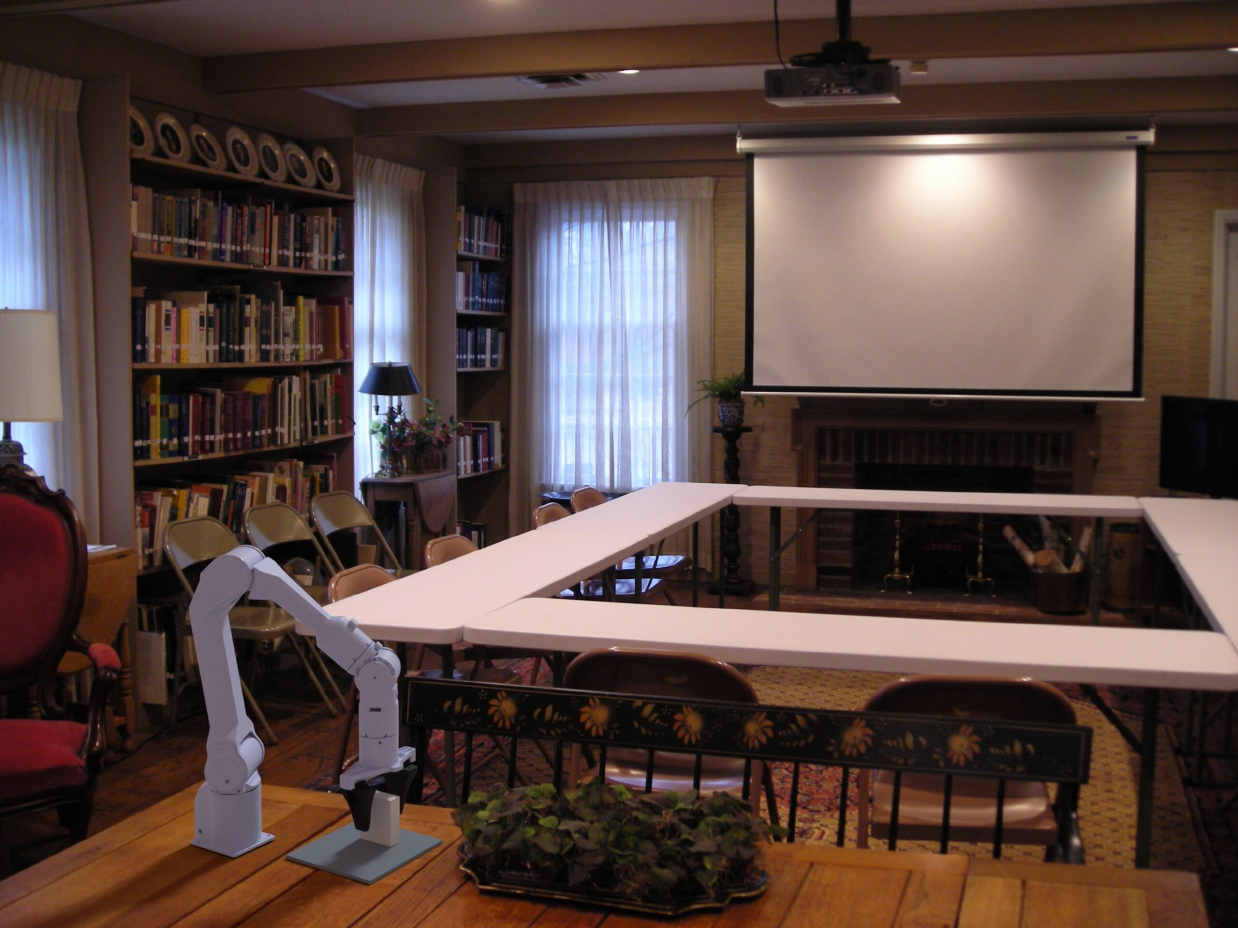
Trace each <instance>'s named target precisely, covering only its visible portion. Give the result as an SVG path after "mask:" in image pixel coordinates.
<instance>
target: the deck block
mask: <svg viewBox="0 0 1238 928" xmlns="http://www.w3.org/2000/svg"><path fill="white" fill-rule="evenodd" d="M400 816H401V814H400V796H396V795H392V794H388V793H387V792H383V791H379V790H376V793H375V795H374V798H373V802H372V807H371V821H370V828H369V831H367V832H363V831H360V838H361V839H364V840H368V841H371V842H375V843H379V844H382V845H386V846H389V847H392V846H393V845H395V844H397V843H399V842H400V828H401V827H400V826H401V824H400V823H401V822H400V821H401V820H400V819H401V818H400Z"/></svg>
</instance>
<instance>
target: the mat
mask: <svg viewBox="0 0 1238 928" xmlns="http://www.w3.org/2000/svg"><path fill="white" fill-rule="evenodd" d="M442 844H444V839H442V838H438V837H433V836H430V835H426V834H423V833H418V832H415V831H411V830H409V829H404V828H401V827H400V842H399V843H397V844H395V845H393V846H392V847H389V846H386V845H382V844H379V843H375V842H371V841H368V840H364V839H361V838H360V830H356V828H355V825H354V821H352V822H350V823H347V824H345V825H344V826H341V827H340V828H338V829H336V830H334V831H331V832H329V833H328V834H325V835H323V836H321V837H320V838H318V839H315V840H313V841H311V842H309V843H306V844H305V845H303V846H301V847H299V848H297V849H295V850H293V851H291V852H289V853H287V854H285V859H287V860H289V861H293V862H295V863H298V864H299V863H300V864H302V865H306V866H309V867H311V868H316V869H319V870H322V871H324V872H328V873H332V874H336V875H339V876H342V877H345V878H349V879H351V880H355V881H358V882H361V883H365V884H368V885H372V884H374V883H375V882H377V881H379V880H381V879H382V878H384V877H386V876H388V875H389V874H391V873H393V872H395V871H396V870H398V869H400V868H402V867H403V866H405V865H408V863H410V862H412V861H414V860H416V859H417V858H419V857H422V856H424V855H425V854H427V853H428V852H430V851H432V850H434V849H435V848H437V847H439V846H440V845H442Z"/></svg>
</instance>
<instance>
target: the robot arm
mask: <svg viewBox="0 0 1238 928" xmlns="http://www.w3.org/2000/svg"><path fill="white" fill-rule="evenodd" d="M199 575H200V576H199V582H198V585H197V587H196V589H195V591H194V593H193V596H192V598H191V600H190V601H191V602H190V604H189V607H188V614H189V620H190V625H191V626H190V627H191V631H192V636H193V641H194V646H195V653H196V658H197V664H198V669H199V675H200V679H201V684H202V690H203V696H204V700H205V701H204V702H205V706H206V713H207V717H208V723H209V732H208V736H207V742H206V752H207V758H206V763H205V765H204V769H203V771H204V772H203V773H204V777H205V780H206V781H204V783H202V784H201V785H200V787H199V788H198V790H197V791H196V794H195V797H194V804H193V806H194V809H193V810H194V838H193V839H191V840H190V842H189V843H190V844H191V846H192V845H193V846H196V847H199V848H203V849H206V850H208V851H211V852H215V853H218V854H220V855H221V854H222V855H225V856H228V857H231V858H237V857H239V856H241V855H243V854H244V855H245V853H248V852H250V851H252V850H254V849H257V848H258V847H260V846H262V845H265V844H266V843H269V842H271V841H273V840H275V837H276V836H275V835H273V834H271V833H267V832H263V831H262V824H263V823H262V778H261V776H260V775H259V774H260V773H258V772H259V771H258V768H259V766H260V765H261V764H262V763H263V761H264V758H265V746H264V743H263V742H262V740H261V739H260V738H259V736H258V735H257V733H256V731H255V727H254V723H253V722H252V719H250V718H249V716H248V715H247V713H246V712H247V711H246V707H245V701H244V696H243V690H242V685H241V679H240V674H239V673H240V672H239V669H238V662H237V657H236V652H235V646H234V642H233V641H234V640H233V636H232V629H231V625H230V619H229V612H230V611H231V610H232V609H233V607H234V606H235V605H236V604H237V603H238V601H239V600H240V599H241V597H242V596H243V595H244V594H245V593H246V592H249V595H248V597H247V599H248V600H258V601H259V600H263V601H273V602H274V603H275V604H276V605H278V606H279V607H280V608H282V609H283V610H284V611H285V612H287V613H288V614H289V615H291V616H293V618H295V619H296V620H297V621H298V622H300V623H301V624H302V625H304V626H305V627H306V628H308V629H309V630H310V631H311V632H313V633H314V634H315V640H316V646H317V648H319V649H320V650H321V651H322V652H323V653H325V654H326V656H328V657H329V658H330V659H332V661H334V662H335V663H336V664H337V665H338V666H340V668H342V669H343V670H345V671H346V672H347V673H348V674H350V675H352V676H354V677H353V678H354V684H355V687H356V688H357V689H358V691H359V702H358V749H359V750H358V752H359V755H358V760H357V762H355V763H354V764H353V765H352V766H351V767H349V769H347V770H346V771H345V772H342V773H341V774H339V783H338V790H339V792H340V793H341V796H343V798H344V800H345V801H346V803H347V806H348V808H349V811H350V814H351V817H352V820H353V821H352V822H354V825H355V828H356V830H360V831H363V832H367V831H369V828H370V821H371V807H372V802H373V798H374V795H375V793H376V791H378V789H377V788H376V787H372V786H369V784H368V783H367V781H368V780H371V779H372V778H374V777H378V776H380V775H382V774H383V778H384V783H385V787H386V793H388V794H392V795H396V796H400V815H402V814H403V811H404V807H405V803H406V800H407V795H408V792H409V789H410V787H411V784H412V783H413V780H414V778H415V777H416V775H417V773H418V766H417V765H415V764H411V763H413V762H415V761H416V747H415V748H414V747H411V746H410V747H409V746H402V747H400V748H399V700H398V695H399V691H398V683H396V682H397V680H398V678H399V676H400V673H401V667H402V666H401V665H402V664H401V661H400V658H399V657H398V655H397V654H396V653H395V651H394V650H393V649H392V648H390V647H387V646H386V647H385V646H383V644H382V643H380V642H379V641H376V642H375V641H374V640H372V638H370V637H369V636H368V635H367V634H365V633H364V631H362V630H361V629H360V628H358V625H359V622H358V621H357V619H354V617H352V618H350V620H349V619H348V618H347V617H345V616H344V615H337V616H336V615H335V616H334V615H331V614H330V613H329V612H328V611H326V609H324V608H323V607H322V606H321V605H320V604H319V603H318V601H316V600H314V599H313V597H311V596H310V595H309V593H308V592H306V591H305V590H304V589H303V587H302V586H300V585H299V584H298V583H297V582H295V581H294V579H293V578H292V577H290V576H289V574H287V572H285V571H284V570H283V569H282V568H281V566H280V565H279V564H278V563H277V562H276V561H275V560H274V559H272V558H271V557H269V556H267V557H266V555H265V554H264V553H263V552H262V551H261V549H259V548H257V547H255V546H254V545H249V544H242V545H237V546H236V547H234V548H232V549H231V550H230V551H228V552H226V553H225V554H223V555H222V554H221V555H220V556H217V557H216V558H214V559H213V560H212V561H211V562H210V563H209V564H208V566H206V567H205V568H204V569H203V570H202V571H201V572H200V573H199Z"/></svg>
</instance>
